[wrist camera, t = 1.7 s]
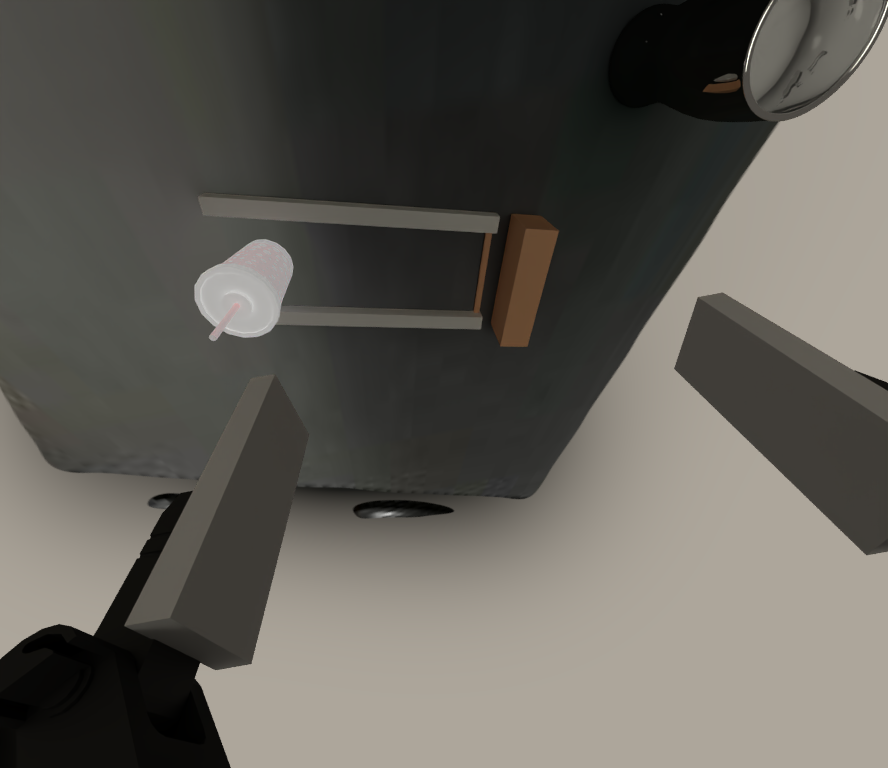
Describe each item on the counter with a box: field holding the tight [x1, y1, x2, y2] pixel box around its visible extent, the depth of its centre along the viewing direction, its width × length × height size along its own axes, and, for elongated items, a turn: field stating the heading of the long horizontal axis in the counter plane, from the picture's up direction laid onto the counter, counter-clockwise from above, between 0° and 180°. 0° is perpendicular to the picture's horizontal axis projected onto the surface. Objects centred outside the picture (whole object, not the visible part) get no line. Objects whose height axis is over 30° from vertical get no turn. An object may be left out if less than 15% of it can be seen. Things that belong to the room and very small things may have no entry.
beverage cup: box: [195, 239, 293, 341], centre depth 30 cm, size 6×6×14 cm
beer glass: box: [609, 0, 888, 122], centre depth 23 cm, size 7×7×15 cm
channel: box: [198, 193, 559, 347], centre depth 35 cm, size 30×12×5 cm, turn 85°
